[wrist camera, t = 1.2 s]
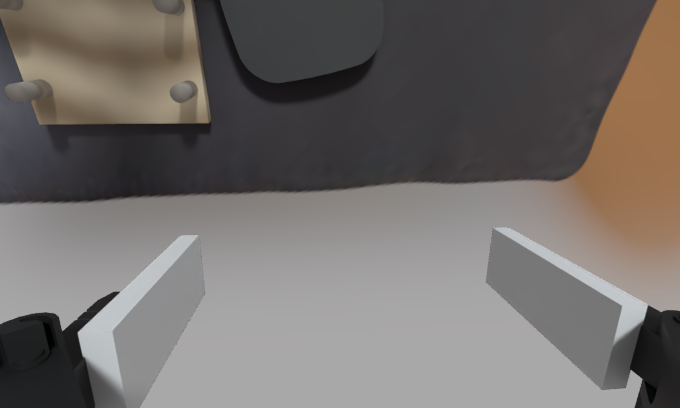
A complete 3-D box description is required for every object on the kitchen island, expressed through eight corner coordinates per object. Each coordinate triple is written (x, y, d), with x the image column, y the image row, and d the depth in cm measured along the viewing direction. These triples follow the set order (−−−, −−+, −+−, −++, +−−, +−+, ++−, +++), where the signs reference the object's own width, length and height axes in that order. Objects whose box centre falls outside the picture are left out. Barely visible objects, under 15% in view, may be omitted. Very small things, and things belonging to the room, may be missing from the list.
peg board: (-13, -47, 28) (-66, -63, 24) (188, -37, 30) (172, -49, 26) (47, 121, 34) (13, 133, 30) (211, 120, 36) (201, 131, 32)
